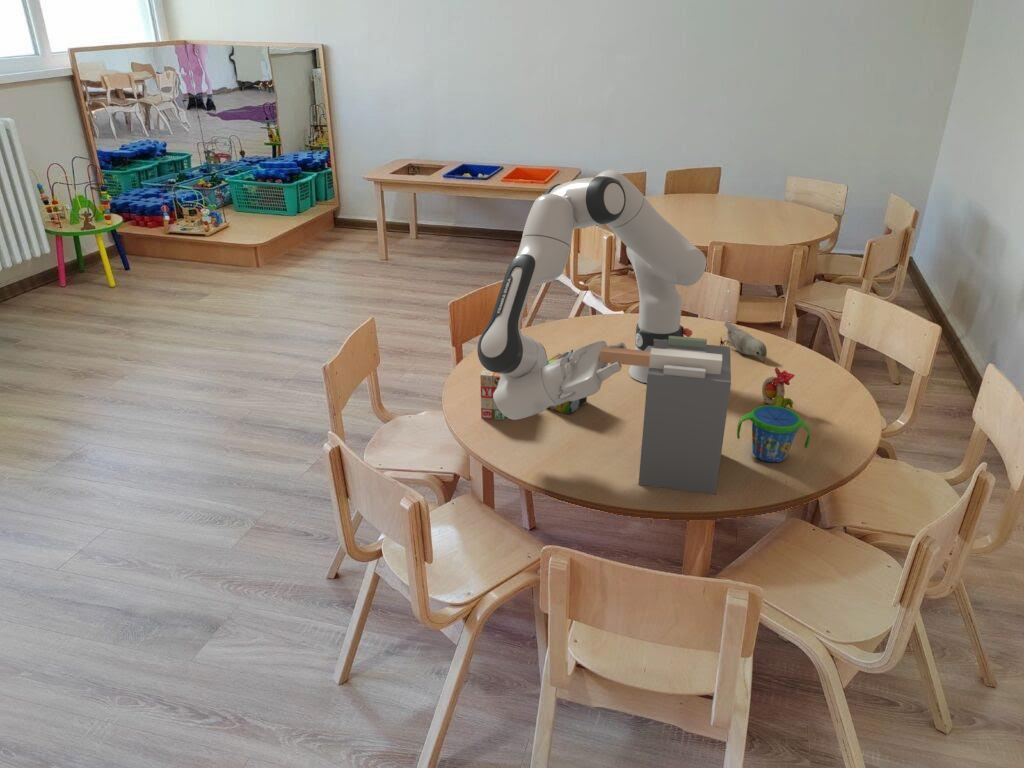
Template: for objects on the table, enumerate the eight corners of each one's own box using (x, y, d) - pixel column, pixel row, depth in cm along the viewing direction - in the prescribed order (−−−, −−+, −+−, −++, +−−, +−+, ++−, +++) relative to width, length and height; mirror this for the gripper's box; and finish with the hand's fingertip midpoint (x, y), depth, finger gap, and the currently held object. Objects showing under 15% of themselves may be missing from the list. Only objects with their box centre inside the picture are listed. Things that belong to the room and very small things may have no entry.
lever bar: (599, 362, 158) (600, 349, 156) (601, 356, 161) (602, 343, 159) (720, 374, 153) (722, 360, 151) (720, 368, 155) (722, 354, 154)
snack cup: (806, 450, 177) (814, 411, 173) (804, 473, 168) (812, 432, 164) (736, 438, 182) (742, 399, 178) (731, 459, 173) (736, 420, 169)
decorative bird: (757, 365, 220) (760, 341, 216) (716, 346, 232) (718, 323, 229) (770, 361, 222) (774, 337, 219) (728, 342, 234) (731, 319, 231)
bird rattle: (756, 413, 198) (782, 414, 190) (749, 370, 197) (775, 369, 189) (774, 408, 200) (800, 409, 192) (767, 366, 199) (794, 365, 191)
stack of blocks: (497, 382, 210) (496, 340, 204) (520, 383, 209) (520, 341, 203) (480, 419, 191) (480, 374, 186) (505, 421, 190) (505, 376, 185)
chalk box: (557, 392, 204) (559, 340, 197) (587, 402, 199) (590, 349, 192) (538, 406, 197) (539, 352, 190) (569, 415, 192) (571, 361, 186)
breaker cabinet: (638, 484, 164) (648, 367, 152) (645, 442, 180) (655, 333, 168) (715, 494, 161) (732, 375, 149) (716, 451, 177) (731, 340, 165)
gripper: (547, 389, 153) (609, 363, 148) (565, 349, 171) (621, 324, 166) (562, 415, 155) (624, 390, 149) (578, 372, 173) (634, 349, 167)
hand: (622, 355), depth 158 cm, fingers open, 8 cm apart
